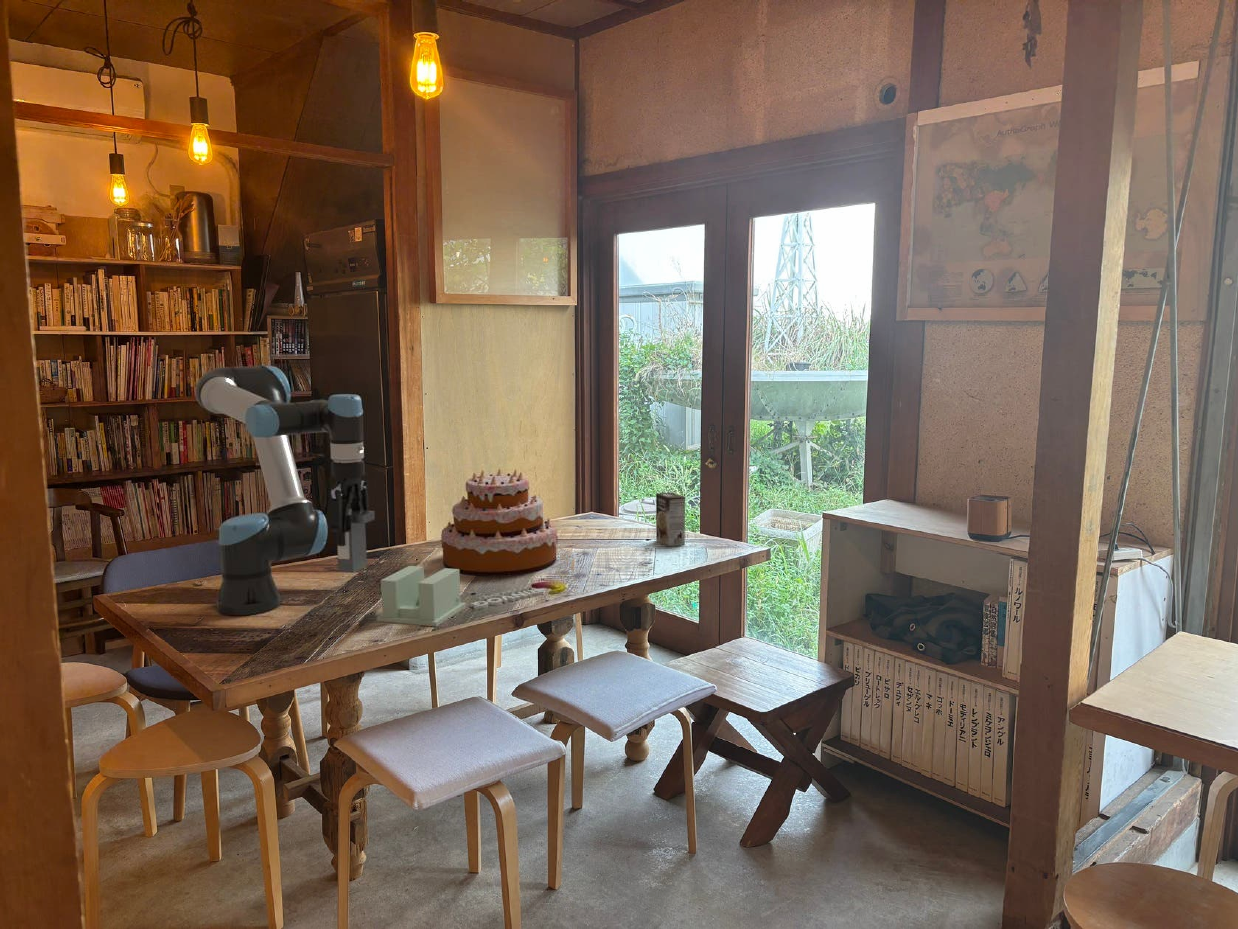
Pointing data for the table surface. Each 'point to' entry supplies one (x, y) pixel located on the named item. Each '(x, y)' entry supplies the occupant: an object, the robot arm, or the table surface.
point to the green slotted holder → (420, 596)
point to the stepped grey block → (356, 541)
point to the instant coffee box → (670, 519)
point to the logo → (517, 594)
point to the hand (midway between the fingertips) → (352, 554)
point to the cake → (498, 529)
